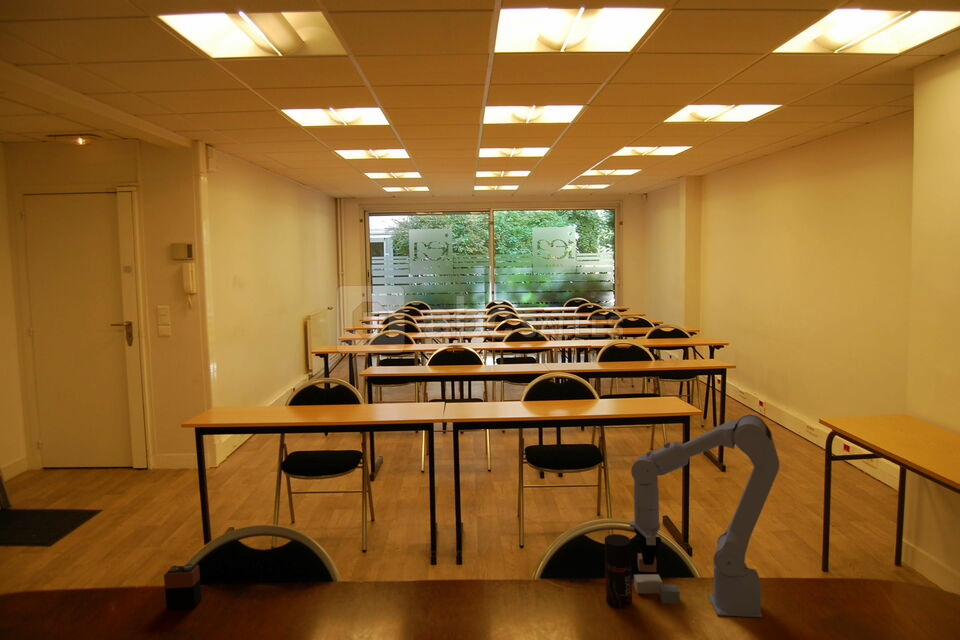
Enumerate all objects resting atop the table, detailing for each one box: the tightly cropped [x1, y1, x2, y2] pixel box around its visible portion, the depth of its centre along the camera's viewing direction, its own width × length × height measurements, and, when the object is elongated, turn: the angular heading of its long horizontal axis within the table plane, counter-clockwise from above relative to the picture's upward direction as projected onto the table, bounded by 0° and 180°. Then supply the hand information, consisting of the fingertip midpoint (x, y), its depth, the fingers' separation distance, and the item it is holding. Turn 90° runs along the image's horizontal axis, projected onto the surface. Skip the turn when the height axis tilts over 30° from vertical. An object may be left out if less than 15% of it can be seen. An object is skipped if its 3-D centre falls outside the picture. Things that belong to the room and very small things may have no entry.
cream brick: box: [633, 573, 663, 594], centre depth 138 cm, size 6×4×3 cm, turn 87°
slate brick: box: [659, 583, 681, 605], centre depth 133 cm, size 4×3×3 cm
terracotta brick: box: [637, 552, 657, 573], centre depth 138 cm, size 4×3×3 cm
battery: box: [163, 563, 203, 611], centre depth 139 cm, size 4×7×10 cm, turn 93°
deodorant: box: [604, 533, 633, 610], centre depth 133 cm, size 6×6×15 cm
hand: (647, 560), depth 138 cm, fingers closed on terracotta brick, 3 cm apart
